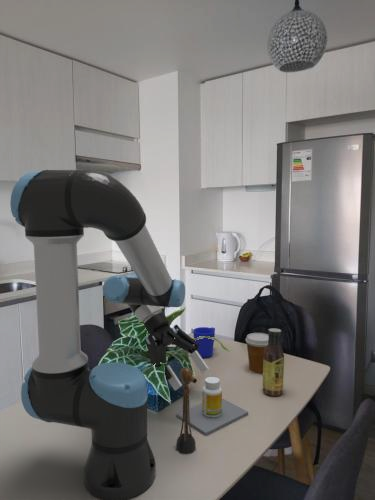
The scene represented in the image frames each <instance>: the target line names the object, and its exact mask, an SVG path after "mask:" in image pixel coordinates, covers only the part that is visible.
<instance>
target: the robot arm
mask: <svg viewBox="0 0 375 500" xmlns="http://www.w3.org/2000/svg"><path fill="white" fill-rule="evenodd" d="M10 212H11V214H12V216H13V218H15V219H14V220H15V221H16V223H17V224H18V225H20V226H21V227H24V233H25V234H24V235H25V238H26V240H28V241H29V242H30V243H32V244H33V253H34V255H33V256H34V274H35V278H34V279H35V297H36V315H37V316H36V317H37V318H36V319H37V334H38V335H37V336H38V356H37V357H36V358H35V359H34V360H33V362H32V365H31V367H30V368H29V369H28V370H27V372H26V374H25V376H24V377H23V380H24V382H23V383H22V384H21V389H20V396H21V397H20V398H21V403H22V406H23V408H24V410H25V412H26V413H27V414H28V415H29V416H30V417H32V418H33V419H37V420H40V421H43V422H44V423H55V424H56V423H57V424H61V425H67V426H72V427H73V426H74V427H79V428H85V429H90V430H91V446H90V447H89V448H90V449H89V452H88V455H87V457H86V462H85V465H84V469H83V483H84V486H85V488H86V490H87V492H88V493H90V495H92V496H94V497H95V498H98V499H101V500H129V499H132V498H135V497H136V496H138V495H141V494H143V493H144V492H145V491H147V490H148V489H149V488H150V487H151V486H152V484H153V482H154V481H155V478H156V476H157V475H156V474H157V473H156V472H157V471H156V469H157V466H156V464H157V463H156V460H155V456H154V452H153V450H152V447H151V445H150V442H149V439H148V397H149V395H148V390H147V378H146V376H145V374H143V371H141V370H140V369H139V368H137V367H136V366H134V365H131V364H129V363H125V362H118V361H117V362H115V361H114V362H113V361H112V363H110V362H103V363H99V364H97V365H96V366H94V367H93V368H91V369H89V357H88V355H87V354H86V353H85V352H83V351H82V350H81V349H82V348H81V324H80V321H81V320H80V296H79V295H80V294H79V271H78V270H79V269H78V268H79V267H78V265H79V263H78V243H79V242H80V240H81V239H82V238H83V237H84V234H85V228H87V229H88V228H92V229H96V230H100V231H102V232H103V233H104V235H105V237H107V238H108V240H111V241H113V242H114V243H115V244H116V245H117V247H118V248H119V250H120V252H121V253H122V254H123V256H124V258H125V259H126V261H127V263H128V264H129V266H130V268H131V269H132V270H133V272H131V273H127V274H126V275H118V274H114V275H111V276H109V277H108V278H106V280H105V281H104V283H103V286H102V294H103V296H104V298H105V299H106V300H107V301H109V302H112V303H114V304H122V305H123V304H124V305H127V306H128V307H129V309H130V311H132V313H133V314H134V316H135V317H136V319H137V318H138V319H139V320H140V321H141V322H144V325H145V327H146V329H147V331H148V333H149V334H150V335H149V336H148V335H147V337H146V338H145V339H144V343H145V345H146V347H147V351H148V355H149V356H148V357H149V360H150V366H151V365H152V364H153V365H154V364H155V363H156V365H155V367H160V366H161V364H160V362H162V363H166V364H165V375H166V379H165V380H167V381H168V382H169V384H170V386H171V387H172V388H173V389H172V390H174V391H178V390H179V389H180V388H181V387H183V383H182V381H180V380H179V377H178V376H177V375H176V373H175V372H174V371H173V370H174V369H173V368H172V367H171V365H169V364H168V365H167V351H166V350H167V349H166V348H167V347H168V346H174V345H175V346H176V347H178V348H179V349H182V350H183V351H185V350H187V351H188V354H190V355H189V357H190V358H191V360H192V362H193V363H194V364H195V366H196V367H197V368H198V370H199V371H200V373H201V374H204V373H205V372H207V371H208V370H209V369H210V368H209V367H208V365H207V364H206V362H205V360H204V359H203V358H202V357H201V355H200V354H199V352H198V351H197V349H198V348H199V344H198V343H197V342H196V341H195V340H194V338H192V337H191V336H190V335H188V334H187V333H186V332H184V331H183V330H182V328H180V326H179V325H178V324H174V326H172V327H171V326H170V325H169V324H170V320H169V319H168V317H167V315H165V314H166V313H164V312H163V311H162V309H161V308H163V307H164V308H180V307H181V306H183V305H184V304H183V303H184V302H185V298H186V286H185V282H184V281H182V280H179V279H176V278H174V279H172V277H171V275H170V273H169V271H168V269H167V266H166V265H165V263H164V261H163V258H162V257H161V255H160V253H159V250H158V248H157V246H156V244H155V243H154V240H153V239H152V235H151V234H150V232H149V230H148V227H147V226H146V224H147V216H146V213H145V210H144V208H143V207H142V204H141V203H140V202H139V200H138V199H137V197H136V196H135V195H134V194H133V193H132V192H131V191H130V189H129V188H127V187H126V186H125V185H124V184H123V183H122V182H120V180H118V179H116V178H115V177H114V176H111V175H110V174H108V173H106V172H103V171H100V170H98V169H91V168H88V169H86V168H84V169H83V168H82V169H42V170H38V171H35V170H34V171H30V172H26V173H25V174H23V175H21V177H19V180H18V181H16V182H15V184H14V186H13V188H12V191H11V195H10ZM138 319H137V320H138ZM187 351H186V352H187Z"/></svg>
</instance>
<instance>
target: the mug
mask: <svg viewBox="0 0 375 500" xmlns="http://www.w3.org/2000/svg"><path fill="white" fill-rule="evenodd" d="M192 335H193V339H194V338H197V337H199V336H210V337H214V338H215V337H216V336H215V335H216V327H207V326H206V327H203V326H199V327H196V328H194V329H193V333H192ZM196 342H197V343H198V344H199V348H198V349H197V351H198V352H199V354H200V355H201V357H202V358H205V359H206V358H210V357H212V355H213V354H214V353H213V352H214V343H215V339H214V340H212V339H208V338H203V339H199V340H196Z"/></svg>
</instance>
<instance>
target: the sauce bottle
mask: <svg viewBox="0 0 375 500" xmlns="http://www.w3.org/2000/svg"><path fill="white" fill-rule="evenodd" d="M267 331H268V332H267V334H268V335H269V339H268V345H267V346H266V348H265V350H264V361H263V373H262V392H263V393H264V394H265V395H268V396H271V397H278V396H280V395H282V394H283V389H284V375H285V371H284V370H285V355H284V354H285V353H284V351H283V347H282V330H281V329H280V328H276V327H275V328H273V327H272V328H268V329H267Z"/></svg>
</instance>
